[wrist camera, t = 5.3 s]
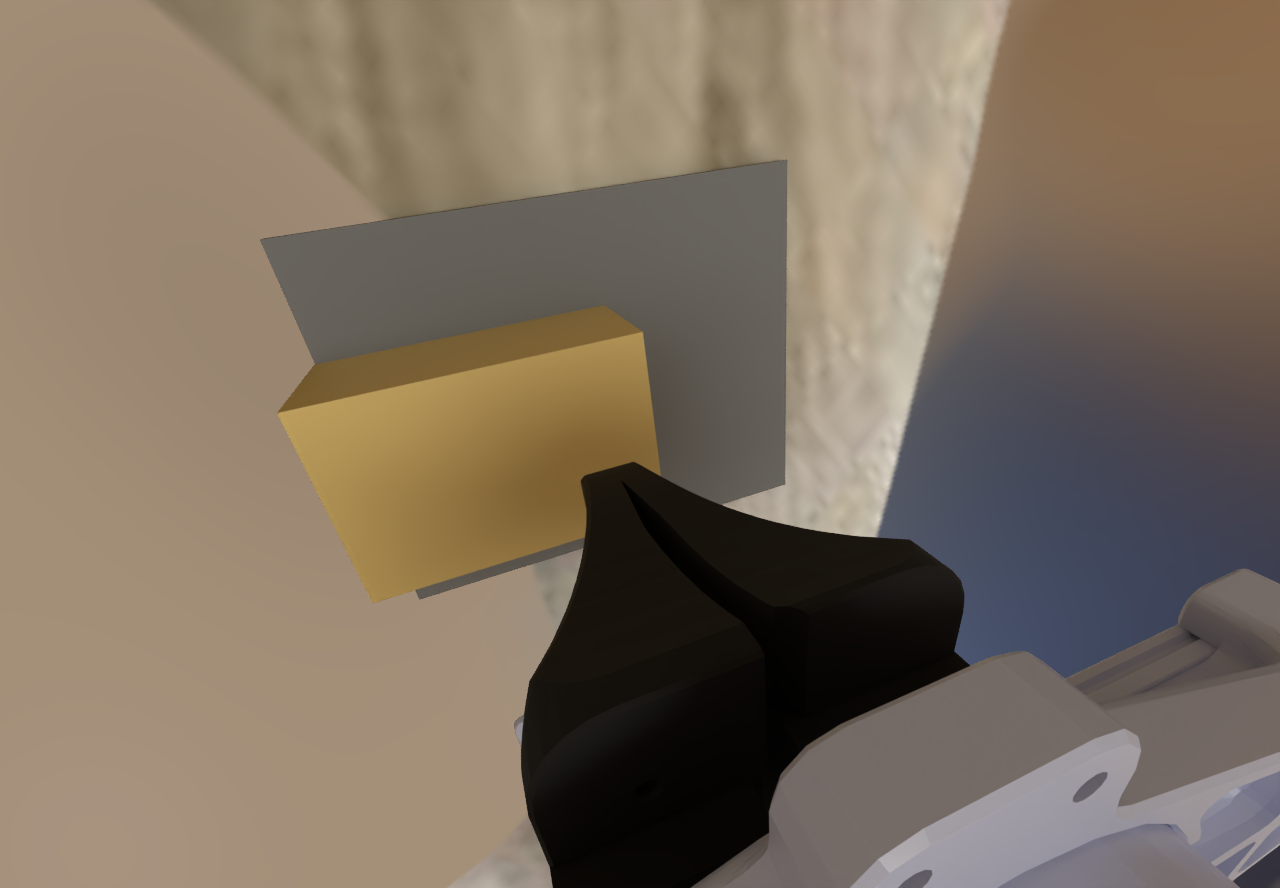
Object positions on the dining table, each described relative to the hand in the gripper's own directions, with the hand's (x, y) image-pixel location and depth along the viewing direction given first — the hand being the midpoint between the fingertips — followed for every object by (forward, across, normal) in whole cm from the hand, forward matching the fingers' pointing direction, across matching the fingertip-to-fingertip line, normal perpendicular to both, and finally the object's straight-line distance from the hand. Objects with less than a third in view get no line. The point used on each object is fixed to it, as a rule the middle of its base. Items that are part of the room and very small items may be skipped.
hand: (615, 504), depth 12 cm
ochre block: (+5, -2, 0) cm, 6 cm away
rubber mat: (+8, -1, 0) cm, 8 cm away
